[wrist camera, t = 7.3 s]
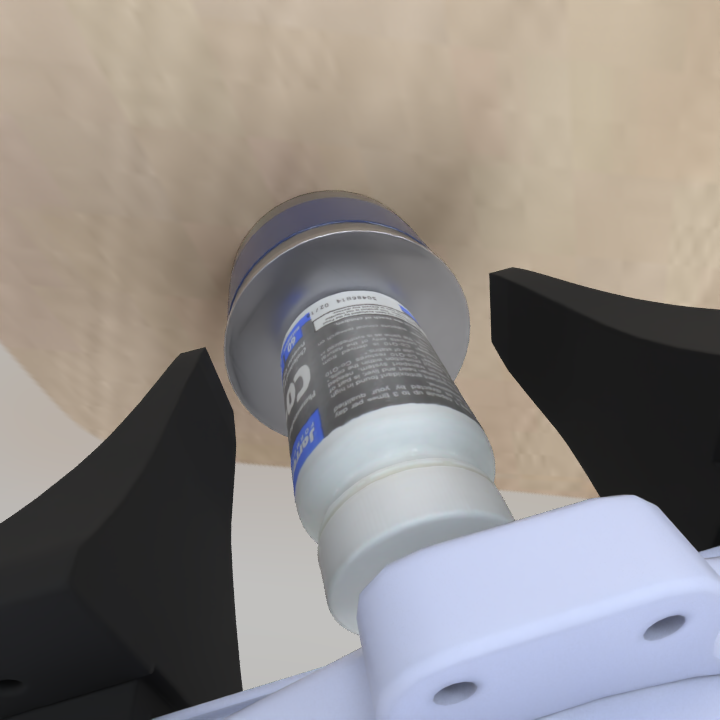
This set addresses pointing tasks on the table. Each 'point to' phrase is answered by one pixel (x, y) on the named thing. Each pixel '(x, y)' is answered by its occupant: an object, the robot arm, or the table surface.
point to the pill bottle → (378, 443)
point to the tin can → (329, 286)
